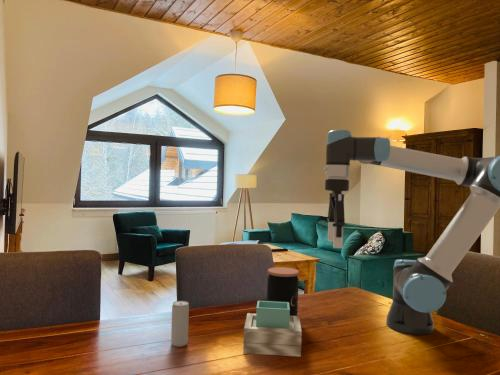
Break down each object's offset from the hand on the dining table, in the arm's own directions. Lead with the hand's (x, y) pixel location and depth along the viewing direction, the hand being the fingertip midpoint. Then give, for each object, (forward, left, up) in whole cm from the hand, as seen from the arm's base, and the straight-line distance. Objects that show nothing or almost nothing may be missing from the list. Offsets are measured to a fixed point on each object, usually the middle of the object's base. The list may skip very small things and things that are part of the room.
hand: (334, 244), depth 131 cm
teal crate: (+19, +13, -23) cm, 32 cm away
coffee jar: (+16, -7, -29) cm, 34 cm away
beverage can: (+46, +16, -29) cm, 57 cm away
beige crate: (+19, +13, -29) cm, 37 cm away
